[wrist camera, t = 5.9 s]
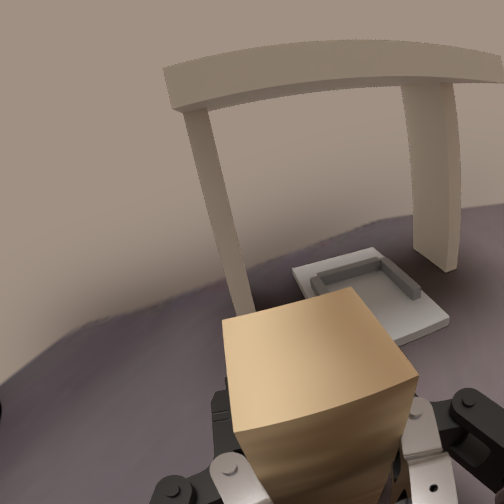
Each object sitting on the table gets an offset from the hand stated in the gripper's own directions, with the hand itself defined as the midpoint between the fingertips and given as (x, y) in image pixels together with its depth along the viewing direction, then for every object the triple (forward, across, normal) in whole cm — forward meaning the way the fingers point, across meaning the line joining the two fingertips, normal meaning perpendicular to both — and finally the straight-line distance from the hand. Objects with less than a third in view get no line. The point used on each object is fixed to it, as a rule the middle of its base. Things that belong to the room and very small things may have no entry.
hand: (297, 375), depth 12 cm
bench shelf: (+11, -8, +6) cm, 15 cm away
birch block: (-3, 0, +6) cm, 7 cm away
